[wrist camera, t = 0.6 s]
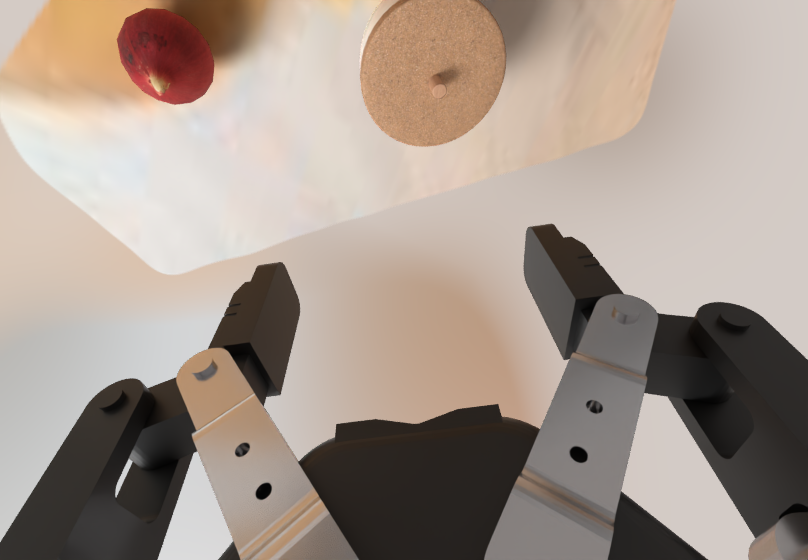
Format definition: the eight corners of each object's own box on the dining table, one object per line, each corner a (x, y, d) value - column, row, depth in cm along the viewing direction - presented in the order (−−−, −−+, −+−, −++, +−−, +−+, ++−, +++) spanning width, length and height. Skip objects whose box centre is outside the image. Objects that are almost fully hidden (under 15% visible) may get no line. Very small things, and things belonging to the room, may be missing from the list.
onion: (122, 41, 29) (85, 88, 24) (152, -27, 26) (117, 10, 21) (200, 92, 33) (182, 143, 28) (233, 37, 30) (219, 81, 25)
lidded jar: (490, -36, 29) (536, 2, 23) (463, 103, 37) (493, 156, 31) (349, -44, 27) (362, -4, 21) (354, 104, 36) (364, 161, 30)
